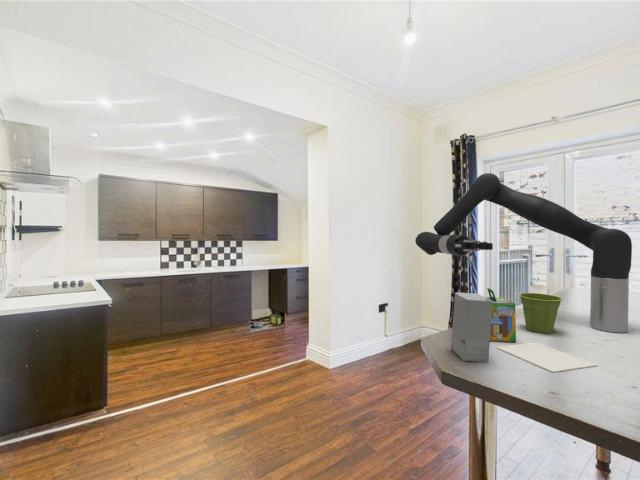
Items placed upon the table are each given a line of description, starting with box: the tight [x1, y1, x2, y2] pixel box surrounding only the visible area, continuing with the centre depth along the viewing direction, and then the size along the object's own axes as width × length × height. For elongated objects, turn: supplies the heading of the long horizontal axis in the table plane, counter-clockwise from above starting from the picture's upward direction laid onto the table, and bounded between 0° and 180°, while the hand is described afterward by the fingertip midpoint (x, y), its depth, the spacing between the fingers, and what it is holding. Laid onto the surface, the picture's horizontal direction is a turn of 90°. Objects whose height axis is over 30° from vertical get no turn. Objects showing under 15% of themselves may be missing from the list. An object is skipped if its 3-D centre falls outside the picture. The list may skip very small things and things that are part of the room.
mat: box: [495, 342, 599, 374], centre depth 80 cm, size 16×14×1 cm
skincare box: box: [450, 292, 493, 363], centre depth 81 cm, size 8×7×16 cm
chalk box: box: [485, 287, 517, 343], centre depth 96 cm, size 9×9×15 cm
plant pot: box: [518, 292, 563, 334], centre depth 102 cm, size 12×12×11 cm
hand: (490, 246), depth 99 cm, fingers closed
